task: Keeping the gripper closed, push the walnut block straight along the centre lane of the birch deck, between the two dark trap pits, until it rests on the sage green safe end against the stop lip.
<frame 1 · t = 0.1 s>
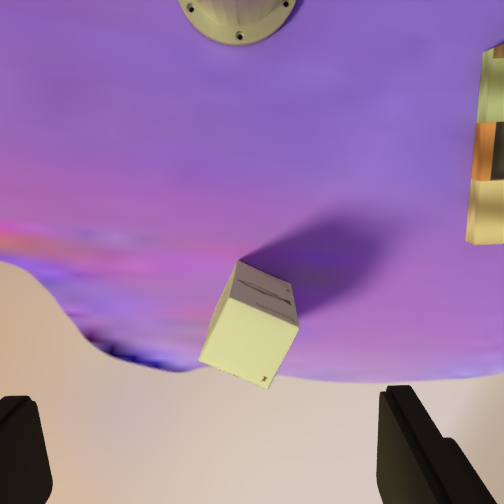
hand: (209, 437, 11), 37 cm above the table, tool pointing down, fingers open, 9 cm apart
supplement box: (252, 295, 49), on the table
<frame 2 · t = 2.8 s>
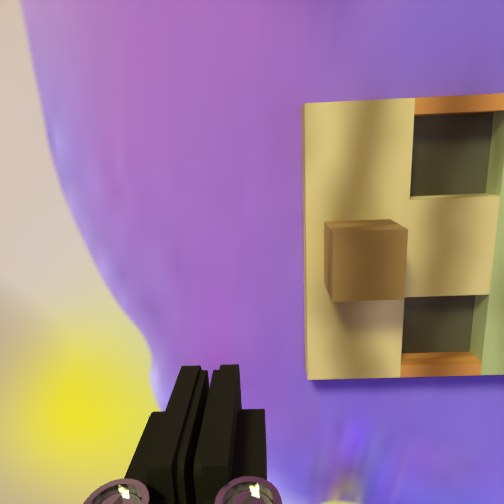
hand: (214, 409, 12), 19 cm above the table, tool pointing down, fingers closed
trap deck: (438, 241, 30), on the table
walnut block: (356, 252, 28), point 2 cm above the table, touching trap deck
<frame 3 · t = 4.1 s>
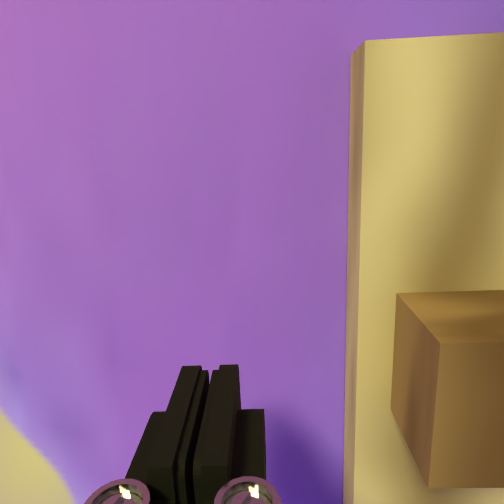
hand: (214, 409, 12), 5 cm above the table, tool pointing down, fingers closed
walnut block: (458, 351, 14), point 2 cm above the table, touching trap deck
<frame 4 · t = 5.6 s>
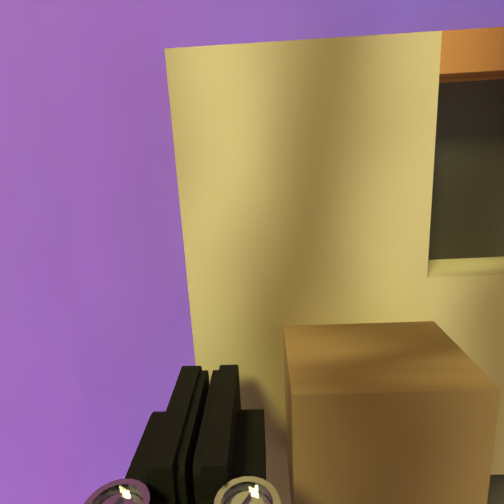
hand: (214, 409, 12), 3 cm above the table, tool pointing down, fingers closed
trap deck: (484, 349, 14), on the table
walnut block: (356, 389, 13), point 2 cm above the table, touching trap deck
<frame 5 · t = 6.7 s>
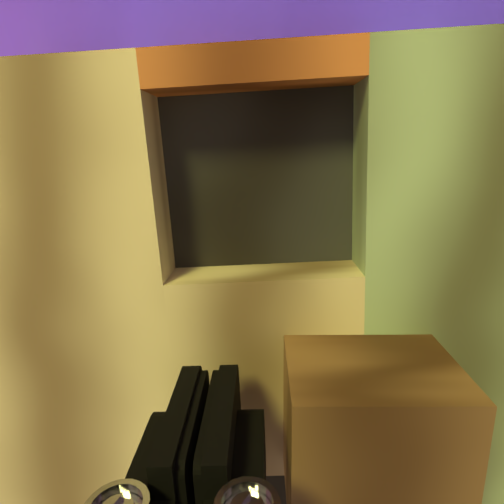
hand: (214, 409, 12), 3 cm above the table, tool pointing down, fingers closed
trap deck: (267, 353, 15), on the table
walnut block: (353, 399, 13), point 2 cm above the table, touching gripper, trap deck
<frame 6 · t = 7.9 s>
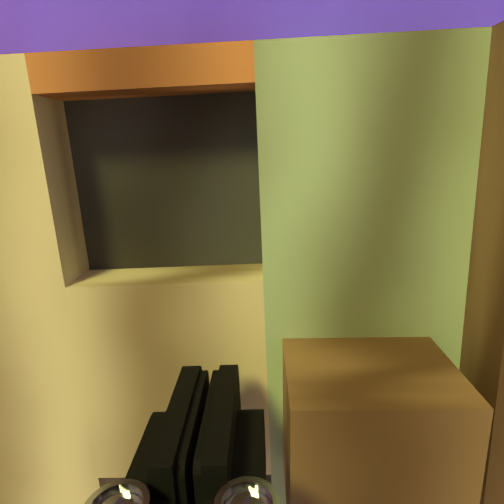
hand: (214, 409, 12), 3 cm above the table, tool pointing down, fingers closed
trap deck: (185, 355, 15), on the table
walnut block: (352, 401, 13), point 2 cm above the table, touching gripper, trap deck
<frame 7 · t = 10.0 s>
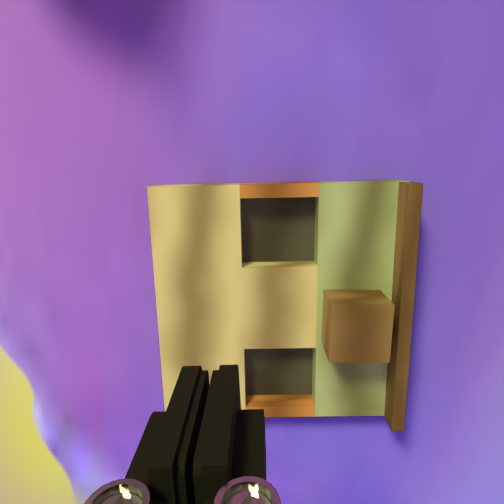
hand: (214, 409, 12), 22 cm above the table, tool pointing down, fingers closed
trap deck: (278, 300, 35), on the table
walnut block: (350, 315, 33), point 2 cm above the table, touching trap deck
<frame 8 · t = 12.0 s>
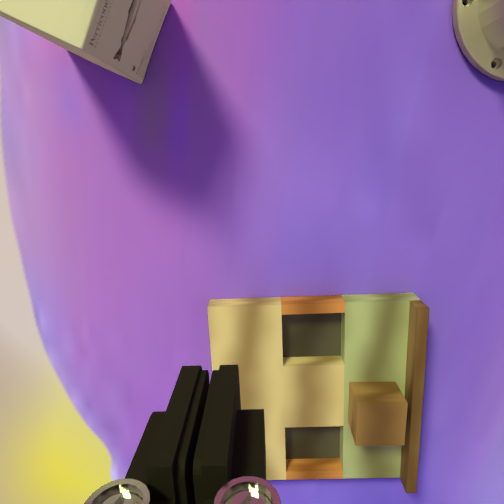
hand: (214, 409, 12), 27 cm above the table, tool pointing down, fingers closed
supplement box: (119, 26, 34), on the table
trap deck: (311, 385, 42), on the table
walnut block: (371, 401, 40), point 2 cm above the table, touching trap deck
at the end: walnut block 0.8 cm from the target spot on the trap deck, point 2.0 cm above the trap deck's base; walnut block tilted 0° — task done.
